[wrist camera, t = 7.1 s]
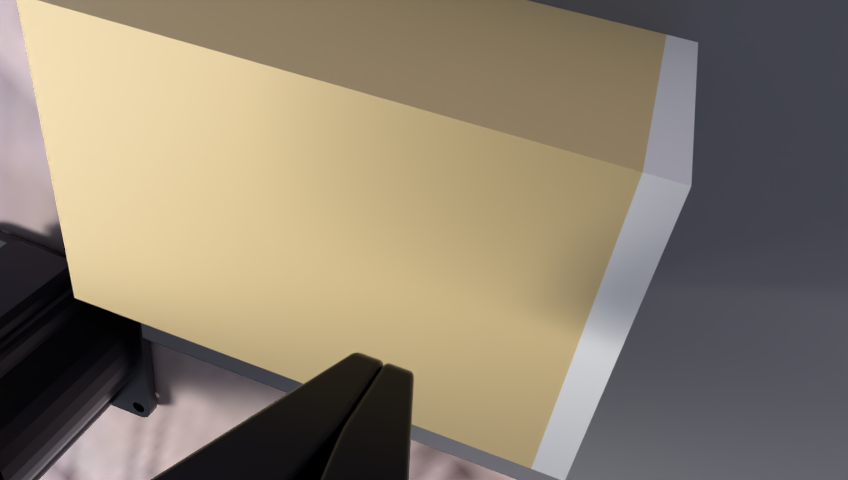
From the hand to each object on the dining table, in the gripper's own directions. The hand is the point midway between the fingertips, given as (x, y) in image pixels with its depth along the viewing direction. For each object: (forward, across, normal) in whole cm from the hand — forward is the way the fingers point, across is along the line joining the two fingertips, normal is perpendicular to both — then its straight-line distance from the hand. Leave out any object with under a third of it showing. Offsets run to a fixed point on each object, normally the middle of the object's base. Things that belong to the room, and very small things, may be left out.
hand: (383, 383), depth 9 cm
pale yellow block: (+5, -3, 0) cm, 6 cm away
